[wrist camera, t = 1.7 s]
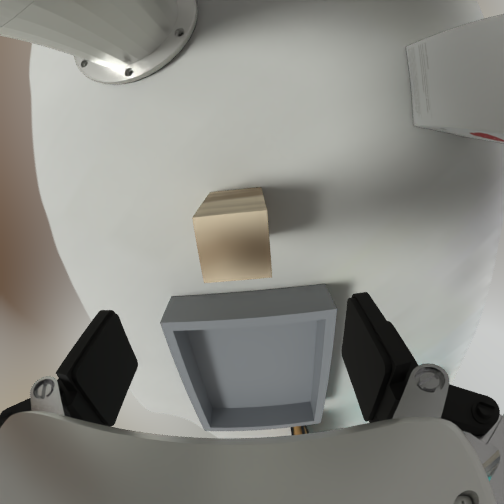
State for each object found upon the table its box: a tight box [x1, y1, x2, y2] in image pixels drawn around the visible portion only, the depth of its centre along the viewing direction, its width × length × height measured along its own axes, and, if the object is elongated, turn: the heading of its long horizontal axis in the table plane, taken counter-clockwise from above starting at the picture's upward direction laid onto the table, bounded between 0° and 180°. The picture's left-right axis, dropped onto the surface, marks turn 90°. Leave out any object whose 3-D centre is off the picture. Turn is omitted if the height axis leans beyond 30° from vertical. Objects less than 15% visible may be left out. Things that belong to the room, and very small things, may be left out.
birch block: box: [192, 187, 272, 283], centre depth 21 cm, size 4×4×8 cm
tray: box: [160, 284, 337, 431], centre depth 29 cm, size 20×16×4 cm
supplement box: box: [406, 14, 504, 144], centre depth 12 cm, size 9×9×15 cm
